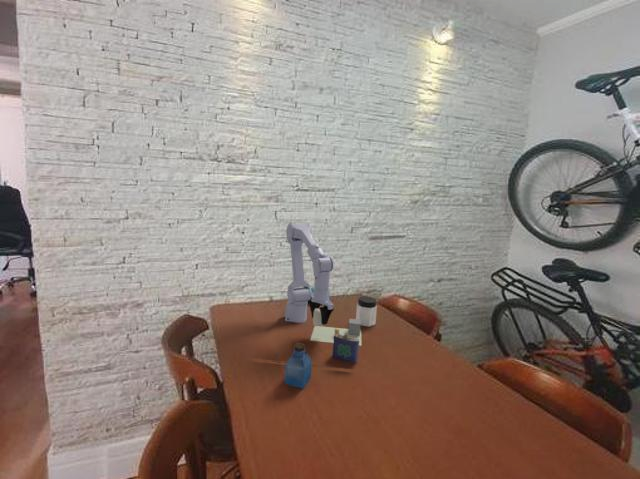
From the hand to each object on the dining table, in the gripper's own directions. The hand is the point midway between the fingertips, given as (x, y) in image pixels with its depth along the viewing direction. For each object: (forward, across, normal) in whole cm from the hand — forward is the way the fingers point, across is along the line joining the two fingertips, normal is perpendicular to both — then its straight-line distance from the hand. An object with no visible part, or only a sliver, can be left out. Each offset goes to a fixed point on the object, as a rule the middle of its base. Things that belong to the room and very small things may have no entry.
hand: (319, 320), depth 131 cm
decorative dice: (+9, -37, +24) cm, 45 cm away
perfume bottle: (+8, +20, -21) cm, 30 cm away
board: (+8, +2, +8) cm, 11 cm away
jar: (+8, -3, +27) cm, 29 cm away
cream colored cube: (+1, 0, 0) cm, 1 cm away
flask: (+8, +18, -1) cm, 20 cm away
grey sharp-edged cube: (+7, +3, +16) cm, 18 cm away
